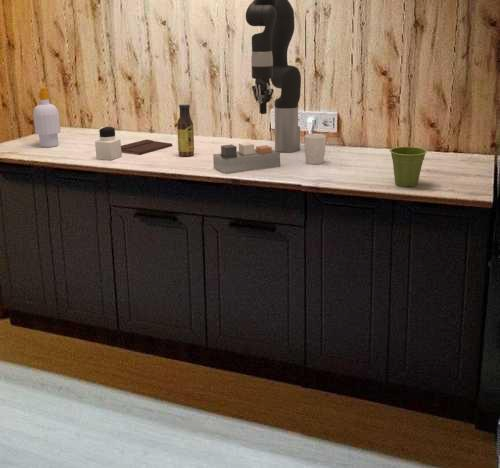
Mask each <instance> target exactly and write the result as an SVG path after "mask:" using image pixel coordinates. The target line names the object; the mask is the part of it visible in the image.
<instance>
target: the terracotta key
mask: <svg viewBox="0 0 500 468" xmlns="http://www.w3.org/2000/svg"><path fill="white" fill-rule="evenodd" d="M272 148H273V147H272V146H269V145H259V146H256V147H255V149H256V152H258V153H270V152H272V150H273V149H272Z"/></svg>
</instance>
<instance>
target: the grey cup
mask: <svg viewBox="0 0 500 468" xmlns="http://www.w3.org/2000/svg"><path fill="white" fill-rule="evenodd" d="M303 137H304V155H305V163H306V164H307V165H322V164H324V163H325V155H326V154H325V153H326V144H327V143H326V139H327V138H326V137H327V135H326V134H324V133H323V134H322V133H309V134H305V135H304V136H303Z"/></svg>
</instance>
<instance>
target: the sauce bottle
mask: <svg viewBox="0 0 500 468" xmlns="http://www.w3.org/2000/svg"><path fill="white" fill-rule="evenodd" d="M190 106H191V105H190V103H180V104H179V105H178V109H179V118H178V119H177V123H176V124H177V125H176V126H177V150H178V155H179V156H180V157H191V156H194V155H195V140H194V139H195V136H194V133H195V132H194V123H193V119H192V118H191V114H190V108H191V107H190Z"/></svg>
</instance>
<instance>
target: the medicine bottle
mask: <svg viewBox="0 0 500 468" xmlns="http://www.w3.org/2000/svg"><path fill="white" fill-rule="evenodd" d="M98 134H99V135H98V137H99V139H97V140H95V142H94V143H95V145H94V146H95V156H96V159H97V160H103V161H113V160H116V159H119V158H122V154H123V153H122V152H121V146H122V142H121V139H120V138H116V128H115V127H113V126H102V127H100V128H99V129H98Z"/></svg>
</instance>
